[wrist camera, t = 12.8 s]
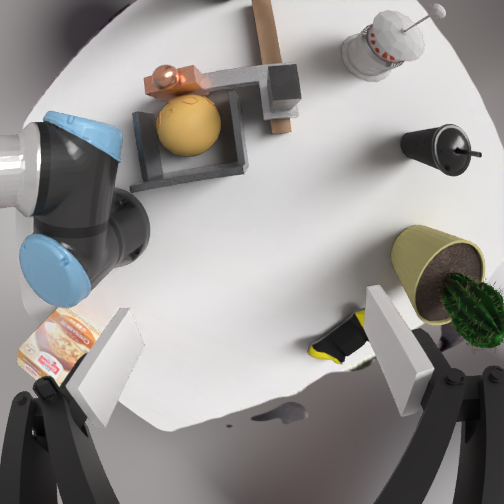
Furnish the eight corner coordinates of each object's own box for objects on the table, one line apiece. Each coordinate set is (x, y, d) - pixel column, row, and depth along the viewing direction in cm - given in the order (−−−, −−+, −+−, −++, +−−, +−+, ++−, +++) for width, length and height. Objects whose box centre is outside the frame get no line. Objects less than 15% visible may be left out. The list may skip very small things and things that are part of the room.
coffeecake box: (108, 338, 63) (73, 393, 45) (100, 352, 65) (67, 405, 47) (61, 302, 60) (17, 348, 42) (56, 318, 62) (16, 363, 44)
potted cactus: (447, 269, 53) (530, 351, 25) (388, 296, 56) (454, 402, 28) (438, 204, 48) (548, 265, 20) (373, 230, 51) (463, 321, 23)
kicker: (174, 136, 45) (131, 136, 29) (167, 86, 42) (123, 65, 26) (294, 118, 44) (312, 106, 27) (287, 67, 40) (299, 32, 24)
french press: (329, 49, 39) (382, -14, 16) (373, 21, 36) (439, -38, 13) (366, 91, 42) (447, 63, 19) (408, 62, 39) (493, 29, 15)
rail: (271, 133, 46) (272, 133, 43) (252, 5, 37) (251, -2, 34) (289, 132, 45) (291, 131, 43) (269, 3, 36) (269, -4, 34)
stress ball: (224, 147, 48) (241, 102, 39) (188, 179, 43) (200, 132, 34) (180, 119, 47) (189, 74, 39) (141, 147, 42) (144, 99, 34)
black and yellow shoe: (301, 338, 60) (328, 360, 63) (304, 355, 55) (332, 377, 58) (357, 295, 56) (381, 321, 59) (364, 309, 51) (389, 336, 53)
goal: (158, 180, 49) (130, 193, 38) (148, 115, 45) (117, 111, 34) (248, 166, 48) (244, 174, 37) (239, 97, 43) (231, 84, 32)
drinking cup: (428, 128, 43) (499, 131, 24) (427, 167, 46) (495, 187, 27) (394, 121, 43) (459, 118, 25) (393, 163, 46) (457, 181, 28)
